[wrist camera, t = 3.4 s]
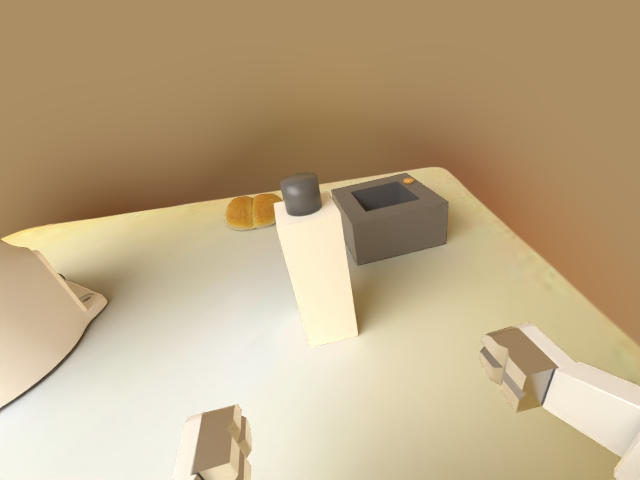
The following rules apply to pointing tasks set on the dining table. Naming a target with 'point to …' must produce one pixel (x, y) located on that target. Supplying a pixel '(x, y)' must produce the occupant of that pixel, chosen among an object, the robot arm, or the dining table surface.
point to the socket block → (390, 217)
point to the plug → (316, 259)
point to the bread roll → (251, 212)
